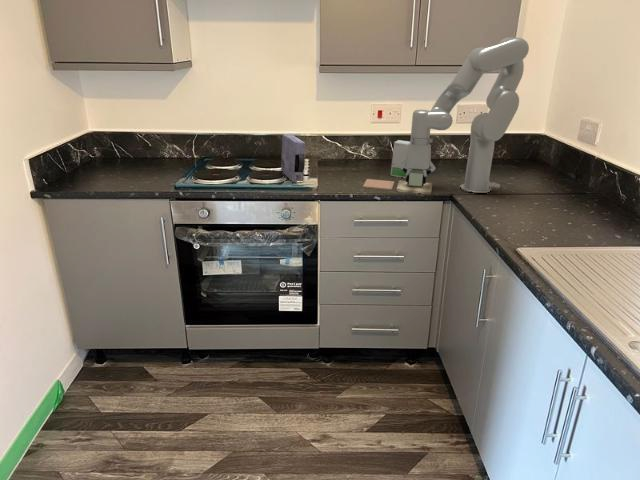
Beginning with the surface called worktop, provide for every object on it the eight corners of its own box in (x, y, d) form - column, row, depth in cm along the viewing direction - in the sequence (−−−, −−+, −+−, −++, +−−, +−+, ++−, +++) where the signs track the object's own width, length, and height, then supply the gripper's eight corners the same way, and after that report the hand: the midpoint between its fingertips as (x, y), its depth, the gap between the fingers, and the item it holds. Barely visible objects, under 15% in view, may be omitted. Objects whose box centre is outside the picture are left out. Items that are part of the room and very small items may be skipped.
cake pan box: (305, 183, 211) (306, 141, 204) (294, 184, 209) (294, 142, 202) (291, 172, 227) (291, 133, 221) (280, 172, 226) (280, 133, 219)
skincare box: (390, 176, 226) (393, 141, 220) (395, 173, 232) (398, 139, 226) (407, 178, 223) (411, 144, 217) (412, 175, 228) (415, 141, 222)
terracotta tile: (394, 182, 216) (394, 181, 216) (391, 190, 205) (391, 188, 205) (366, 180, 218) (367, 178, 218) (362, 187, 207) (362, 186, 207)
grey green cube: (422, 182, 210) (423, 171, 208) (421, 186, 205) (423, 174, 203) (409, 181, 211) (410, 170, 209) (408, 185, 206) (409, 173, 204)
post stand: (431, 185, 213) (433, 171, 211) (430, 194, 201) (432, 180, 199) (399, 182, 216) (400, 169, 214) (396, 191, 204) (397, 177, 201)
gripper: (441, 141, 203) (436, 183, 210) (399, 138, 206) (395, 180, 213) (441, 144, 196) (436, 188, 203) (397, 141, 199) (394, 185, 206)
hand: (415, 184), depth 208 cm, fingers closed on grey green cube, 5 cm apart
